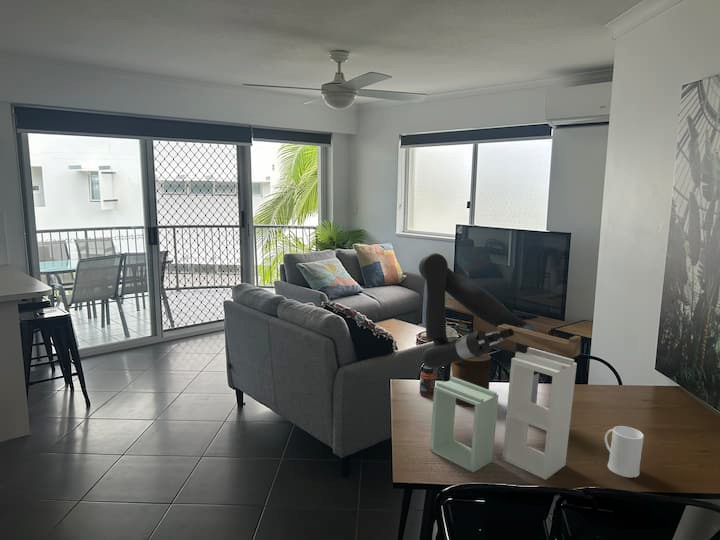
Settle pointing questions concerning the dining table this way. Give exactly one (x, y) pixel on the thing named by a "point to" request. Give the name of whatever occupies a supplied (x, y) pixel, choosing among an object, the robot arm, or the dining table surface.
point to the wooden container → (472, 373)
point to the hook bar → (544, 341)
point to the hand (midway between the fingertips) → (516, 330)
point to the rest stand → (481, 428)
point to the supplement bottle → (427, 382)
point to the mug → (625, 451)
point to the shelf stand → (539, 412)
